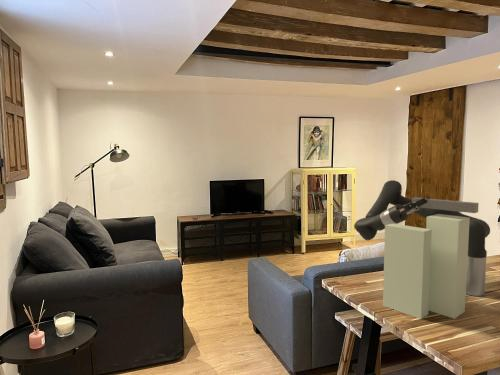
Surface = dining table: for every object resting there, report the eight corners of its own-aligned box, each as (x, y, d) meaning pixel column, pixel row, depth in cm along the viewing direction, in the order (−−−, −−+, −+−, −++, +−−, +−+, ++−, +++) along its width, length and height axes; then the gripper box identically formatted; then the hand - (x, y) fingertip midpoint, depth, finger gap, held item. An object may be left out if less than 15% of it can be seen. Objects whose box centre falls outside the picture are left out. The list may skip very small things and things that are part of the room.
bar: (415, 205, 156) (415, 197, 156) (478, 212, 138) (478, 202, 137) (411, 206, 154) (411, 198, 154) (474, 213, 136) (474, 203, 135)
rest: (390, 302, 157) (392, 223, 153) (428, 314, 144) (431, 229, 141) (382, 305, 153) (385, 225, 150) (420, 319, 140) (424, 231, 137)
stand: (434, 302, 156) (438, 213, 152) (465, 311, 147) (469, 217, 143) (423, 308, 150) (426, 216, 146) (454, 318, 141) (458, 220, 137)
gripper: (381, 209, 159) (415, 192, 147) (398, 206, 168) (431, 190, 156) (388, 225, 157) (424, 209, 145) (405, 221, 166) (440, 206, 154)
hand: (427, 199), depth 150 cm, fingers closed on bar, 3 cm apart
